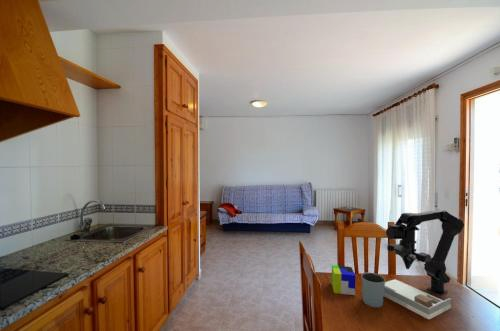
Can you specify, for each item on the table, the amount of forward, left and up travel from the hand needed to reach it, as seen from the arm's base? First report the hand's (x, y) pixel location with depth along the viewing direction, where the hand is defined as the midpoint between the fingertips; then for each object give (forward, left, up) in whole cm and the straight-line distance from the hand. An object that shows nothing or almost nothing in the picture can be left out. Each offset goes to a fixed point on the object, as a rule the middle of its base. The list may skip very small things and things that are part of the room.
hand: (407, 269), depth 124 cm
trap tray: (+5, +4, -12) cm, 14 cm away
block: (+8, +12, -10) cm, 18 cm away
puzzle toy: (+27, -17, -12) cm, 34 cm away
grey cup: (+24, -2, -12) cm, 27 cm away
